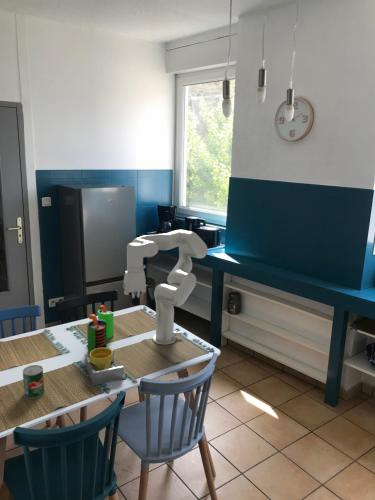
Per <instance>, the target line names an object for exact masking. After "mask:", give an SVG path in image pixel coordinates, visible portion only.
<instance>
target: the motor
mask: <svg viewBox="0 0 375 500" xmlns="http://www.w3.org/2000/svg"><path fill="white" fill-rule="evenodd" d="M88 317H89V318H88V320H90V321H88V322H87V324H86V325H87V326H86V329H87V331H86V334H87V337H86V338H87V354H90V352H91V351H92V350H94V349H97V348H108V345H107V344H108V340H107V339H108V338H107V321H105V320H98V316H97V315H96V314H95V313H91V314H89V316H88Z"/></svg>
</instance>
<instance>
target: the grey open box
mask: <svg viewBox="0 0 375 500" xmlns="http://www.w3.org/2000/svg"><path fill="white" fill-rule="evenodd" d="M111 350H112V352H113V359H112V361H111V363H114V362H115V350H114V349H111ZM84 358H85V359H84V360H85V361H84V362H85V363H84V364H85V368H86V371H87V373H88V375H89V377H90V380H91V383H92V385H93V386H97V385H102V384H107V383H110V382H111V383H112V382H115V381H119V380H124V376H125V375H124V374H125V373H124V372H125V370H124V365H118V366H114V367H110V368H109V369H104V370H99V371H95V369H94V367H93V365H92V363H91V362H90V354H88V353H87V354H84Z"/></svg>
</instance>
